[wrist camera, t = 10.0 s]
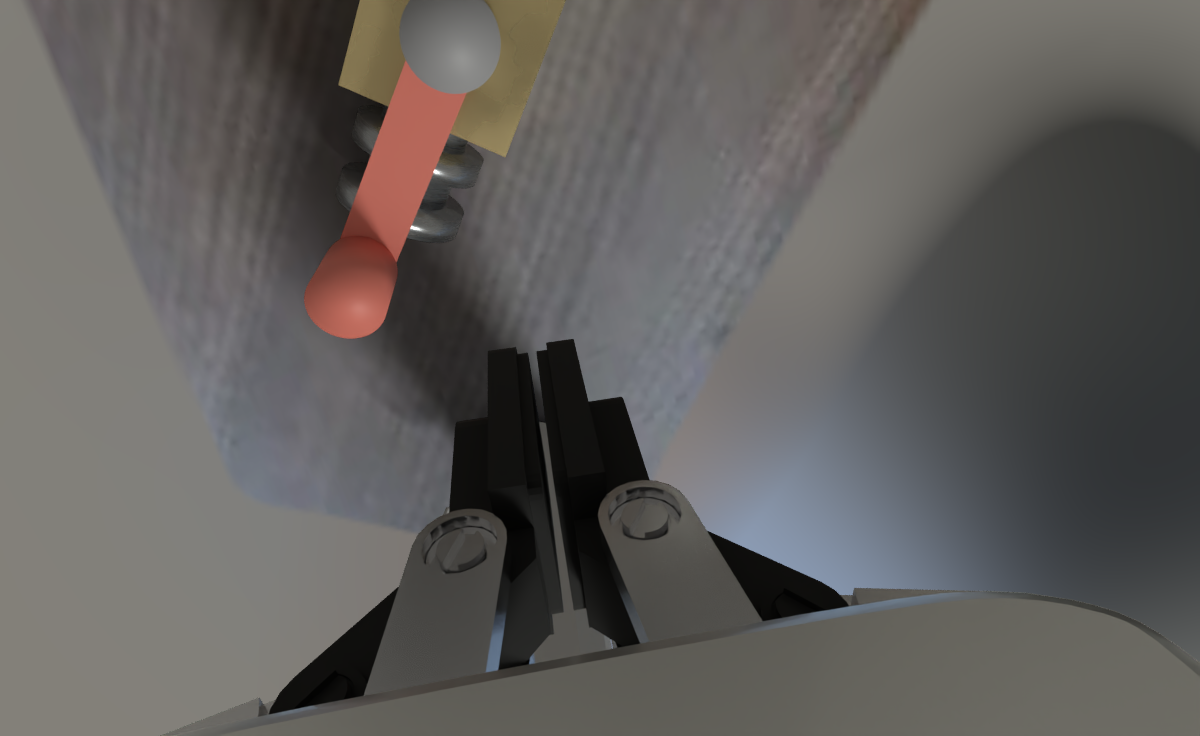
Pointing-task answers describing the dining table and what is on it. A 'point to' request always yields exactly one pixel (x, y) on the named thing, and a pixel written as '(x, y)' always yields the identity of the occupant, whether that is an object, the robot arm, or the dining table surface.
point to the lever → (403, 160)
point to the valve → (486, 114)
